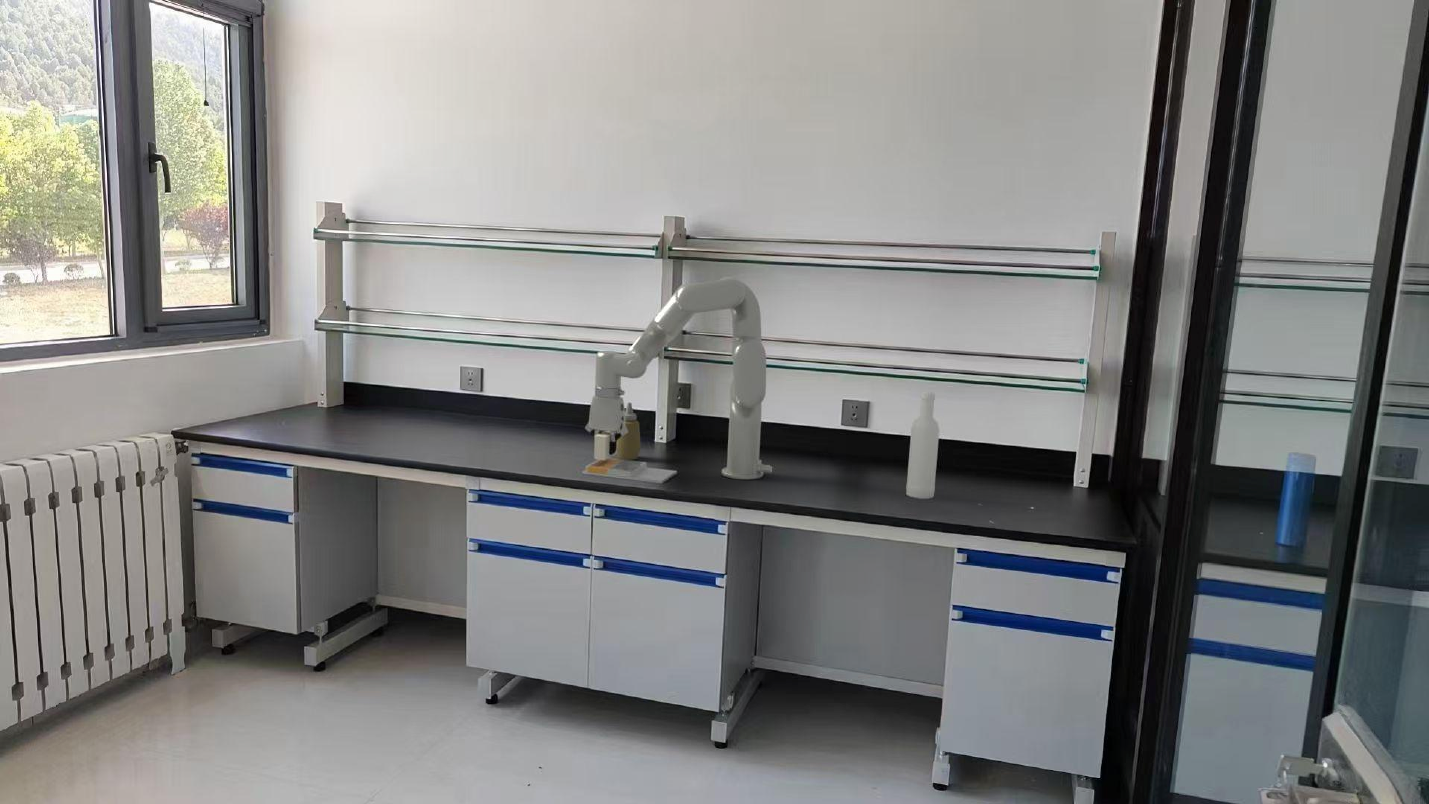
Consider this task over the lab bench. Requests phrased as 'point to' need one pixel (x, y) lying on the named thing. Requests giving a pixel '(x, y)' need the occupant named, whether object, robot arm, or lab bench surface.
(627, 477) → the grey framed tray board
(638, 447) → the squeeze bottle
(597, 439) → the tall ivory prism
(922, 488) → the bottle
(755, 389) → the robot arm
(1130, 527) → the lab bench surface
